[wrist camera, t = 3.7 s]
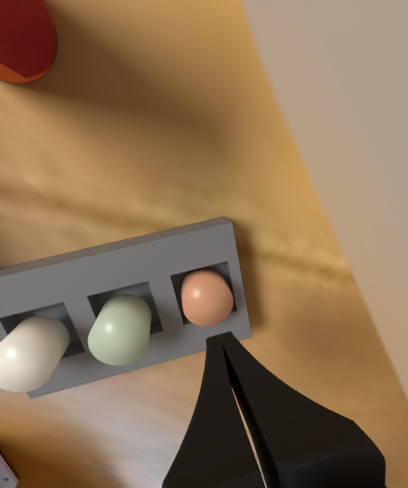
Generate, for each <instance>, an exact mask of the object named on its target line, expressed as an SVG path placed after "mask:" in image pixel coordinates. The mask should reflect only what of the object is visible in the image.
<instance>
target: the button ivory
mask: <svg viewBox="0 0 408 488" xmlns="http://www.w3.org/2000/svg"><path fill="white" fill-rule="evenodd" d="M69 342H70V335H69V332H68V330H67V328H66V327H65V325H64V324H63V323H61V322H60V321H58V320H57V319H55V318H52V317H48V316H33V317H29V318H27V319H25V320H23V321H22V322H21V323H20V324H19V325H18V326H17V327H16V328H15V329H14V330H13V331H12V332H11V333H9V334H8V335H7V336H6V337H5V338H4V339H3V340H2V341H1V342H0V388H2V389H4V390H7V391H12V392H28V391H32V390H35V389H38V388H39V387H41V386H43V385H44V384H45V383H46V382H47V381H48V379H49V378H50V376H51V374H52V373H53V371H54V369H55V368H56V366H57V364H58V363H59V361H60V359H61V358H62V356H63V354H64V352H65V351H66V349H67V347H68V345H69Z"/></svg>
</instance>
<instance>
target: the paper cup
mask: <svg viewBox="0 0 408 488" xmlns="http://www.w3.org/2000/svg"><path fill="white" fill-rule="evenodd" d="M56 52H57V34H56V29H55V25H54V22H53V20H52V17H51V15H50V12H49V10H48V8H47V7H46V5H45V3H44V1H43V0H0V80H3V81H6V82H10V83H29V82H33V81H35V80H37V79H39V78H41V77H42V76H43V75H45V74H46V73H47V72H48V70H49V69H50V68H51V66H52V64H53V62H54V59H55V56H56Z"/></svg>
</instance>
